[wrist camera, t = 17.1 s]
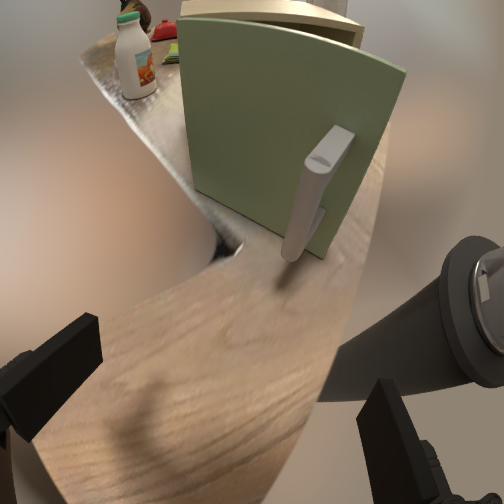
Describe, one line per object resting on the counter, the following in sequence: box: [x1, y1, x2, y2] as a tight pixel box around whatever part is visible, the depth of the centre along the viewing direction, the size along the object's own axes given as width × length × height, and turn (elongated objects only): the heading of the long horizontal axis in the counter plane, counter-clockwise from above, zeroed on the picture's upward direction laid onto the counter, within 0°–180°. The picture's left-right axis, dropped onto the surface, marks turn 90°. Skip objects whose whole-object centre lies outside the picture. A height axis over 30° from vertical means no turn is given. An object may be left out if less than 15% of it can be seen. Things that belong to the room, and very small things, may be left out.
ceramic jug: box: [117, 0, 151, 33], centre depth 71 cm, size 17×15×30 cm
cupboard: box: [180, 0, 365, 49], centre depth 31 cm, size 16×18×22 cm
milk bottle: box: [115, 11, 156, 99], centre depth 41 cm, size 8×8×20 cm
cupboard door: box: [176, 17, 407, 262], centre depth 22 cm, size 7×18×22 cm, turn 57°
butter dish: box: [151, 19, 177, 40], centre depth 73 cm, size 12×12×8 cm
